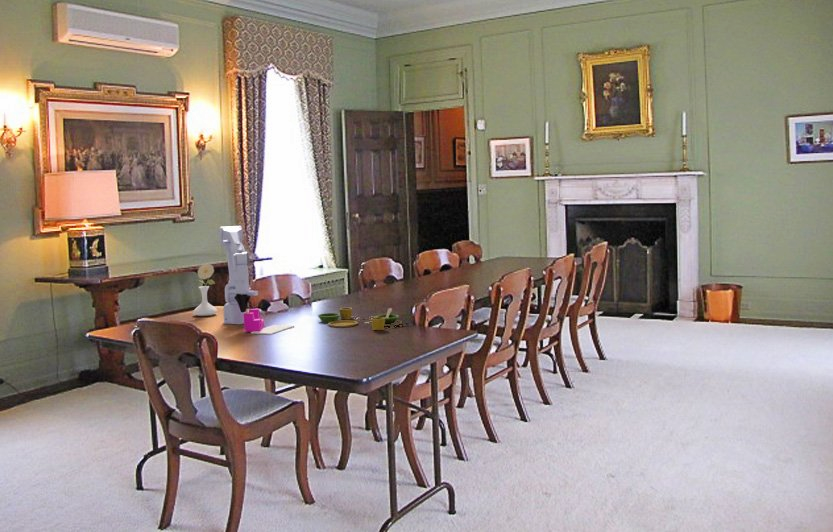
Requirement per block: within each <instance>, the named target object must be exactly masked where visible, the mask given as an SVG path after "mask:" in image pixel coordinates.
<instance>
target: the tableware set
mask: <svg viewBox="0 0 833 532" xmlns="http://www.w3.org/2000/svg"><path fill="white" fill-rule="evenodd" d="M392 312H393V308H392V307H391V308H388V309H387V312H386V314H379V315H375V316H373V317H374V318H371V319H370V321H365V322H364V324H370V323H369V322H372V323H371V326H372V331H373V330H383V329H384V330H385V327H384V326H394V325H399V324H400V325H402V324H403V322H402V320H399V318H400V316H399V315H398V314H391V313H392ZM352 315H353V308H352V307H340V308H339V312H337V313H336V312H327V313H326V312H324V313H319V314H317V317H318V318H319V319H320V321H321V322H322V323H327V324H328V325H329V327H332V328H350V327H354V326H357V325H358V324H359V322H358V321H356V320H357V319H358V318H359V317H357V318H356V319H355V320H351V319H352V318H351V317H353V316H352ZM339 318H340V319H341V320H339ZM397 319H398V320H397ZM395 321H397V322H400V323H397V324H391V323H394V322H395ZM385 324H390V325H385ZM400 325H399V326H400ZM384 330H383V331H384Z"/></svg>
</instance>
